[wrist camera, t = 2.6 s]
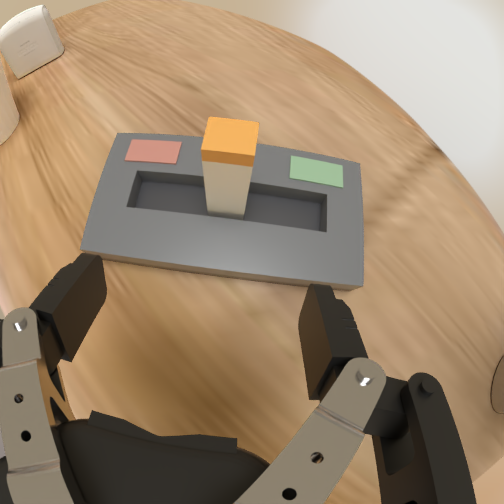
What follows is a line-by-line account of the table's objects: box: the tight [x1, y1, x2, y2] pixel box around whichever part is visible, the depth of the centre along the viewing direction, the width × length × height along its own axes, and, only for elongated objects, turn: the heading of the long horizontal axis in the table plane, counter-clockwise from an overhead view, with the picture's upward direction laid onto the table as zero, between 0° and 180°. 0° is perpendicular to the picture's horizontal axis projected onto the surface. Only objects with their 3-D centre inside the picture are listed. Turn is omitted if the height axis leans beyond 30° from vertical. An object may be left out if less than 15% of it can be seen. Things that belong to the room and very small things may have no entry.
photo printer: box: [0, 5, 64, 79], centre depth 25 cm, size 10×4×12 cm, turn 112°
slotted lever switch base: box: [80, 133, 364, 291], centre depth 25 cm, size 24×12×3 cm, turn 84°
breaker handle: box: [201, 117, 259, 220], centre depth 21 cm, size 3×2×10 cm
